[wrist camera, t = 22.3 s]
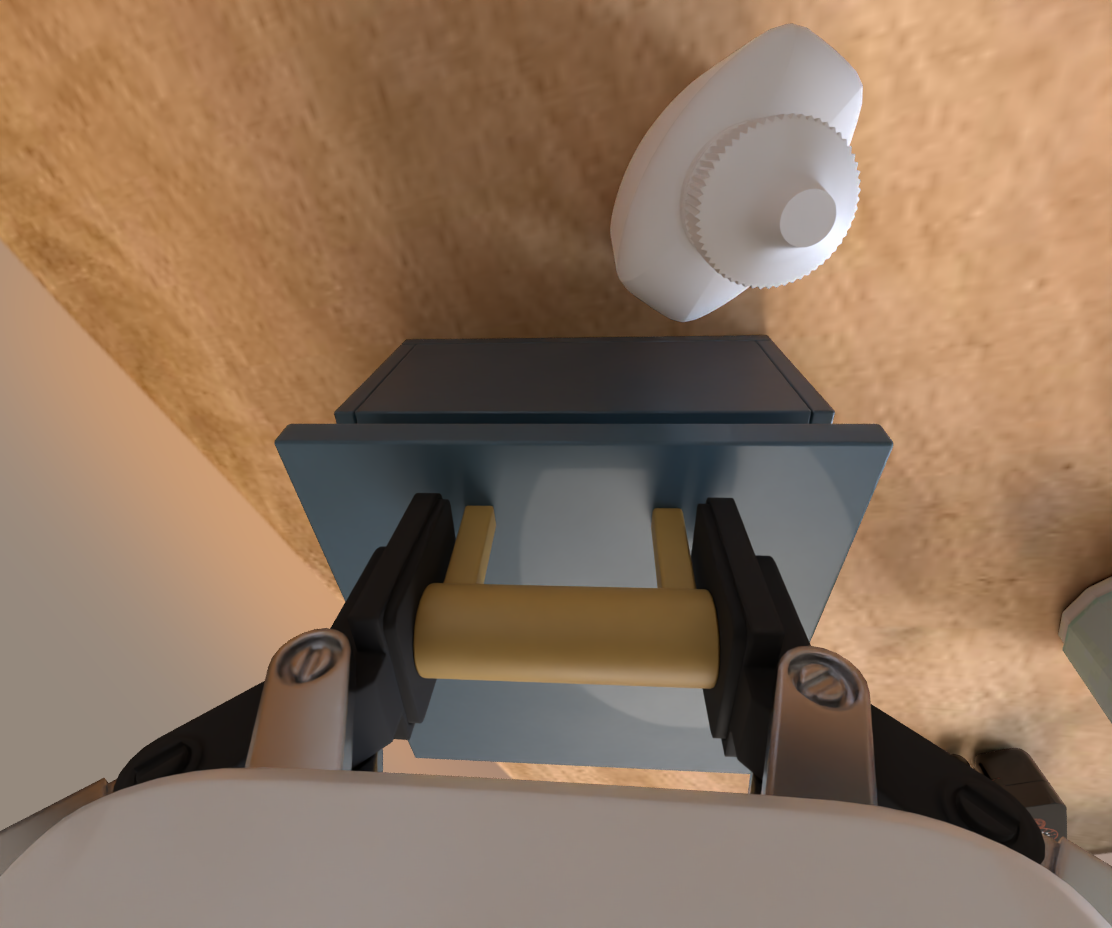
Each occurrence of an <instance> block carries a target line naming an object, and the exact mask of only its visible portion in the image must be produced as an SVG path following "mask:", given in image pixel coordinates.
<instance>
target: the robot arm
mask: <svg viewBox="0 0 1112 928" xmlns="http://www.w3.org/2000/svg"><path fill="white" fill-rule="evenodd" d="M455 542H456V536H455V530H454V523H453V517H452V510H451V504H450V501H449V500H448V499H443V498H442V495H441V494H440V493H416V494H415V495H414V496H413V498H412V500H411V502H410V504H409V506H408V507H407V509H406V511H405V513H404V515H403V517H402V518H401V520H400V522H399V524H398V526H397V528H396V529H395V531H394V533H393V535H392V537H391V539H390V540H389V542H388V544H387V546H380V547H378V548H377V549H376V550H375V551H374V553H373V555H372V556H371V558H370V560H369V562H368V563H367V565H366V567H365V569H364V570H363V572H362V574H361V576H360V577H359V579H358V581H357V583H356V584H355V586H354V588H353V590H352V591H351V593H350V595H349V597H348V598H347V600H346V602H345V604H344V605H343V607H342V609H341V611H340V613H339V614H338V616H337V618H336V620H335V621H334V623H333V625H332V627H331V628H330V629H328V628H323V629H314V630H311V631H308V632H304V633H302V634H300V635H298V636H296V637H294V638H292V639H290V640H289V641H288V642H287V643H285V644H284V645H283V646H282V647H281V648H279V650H278V651H277V652H276V653H275V655H274V656H273V657H272V659H271V662H270V664H269V666H268V670H267V675H266V679H265V681H264V682H262V683H260V684H258V685H256V686H254V687H252V688H251V689H249V690H247V691H245V692H243V693H241V694H240V695H238V696H236V697H234V698H232V699H230V700H228V701H226V702H225V703H223V704H221V705H219V706H217V707H216V708H213V709H212V710H210V711H208V712H206V713H204V714H202V715H201V716H199V717H197V718H195V719H193V720H191V721H189V722H187V723H186V724H184V725H182V726H180V727H178V728H176V729H174V730H173V731H171V732H169V733H167V734H165V735H163V736H161V737H160V738H158V739H157V740H155V741H153V742H152V743H150V744H149V745H147V746H145V747H144V748H143V749H142V750H140V751H139V752H138V753H137V754H136V755H135V756H134V757H133V758H132V759H131V760H130V761H129V762H128V763H127V765H126V766H125V767H124V768H123V770H122V771H121V772H120V774H119V776H118V778H117V779H116V780H114V781H112V782H110V783H108V782H107V781H106V779H105V778H102V779H101V780H99V781H97V782H95V783H93V784H91V785H89V786H87V787H85V788H83V789H81V790H79V791H77V792H75V793H73V794H71V795H70V796H67V797H66V798H64V799H62V800H60V801H58V802H56V803H54V804H52V805H50V806H48V807H46V808H44V809H42V810H41V811H38V812H36V813H34V814H33V815H31V816H29V817H27V818H25V819H23V820H21V821H19V822H17V823H15V824H13V825H11V826H9V827H7V828H5V829H3V830H1V831H0V928H1112V866H1110V865H1109V864H1107V863H1105V862H1104V861H1102V860H1101V859H1099V858H1097V857H1096V856H1094V855H1092V854H1091V853H1089V852H1087V851H1086V850H1084V849H1083V848H1081V847H1079V846H1078V845H1076V844H1074V843H1073V842H1071V841H1069V840H1068V839H1066V838H1064V837H1063V836H1062V838H1061V839H1060V840H1059V841H1058V842H1056V841H1055V840H1053V839H1052V838H1050V837H1048V836H1047V835H1045V834H1043V833H1042V832H1041V830H1040V828H1039V826H1038V825H1037V823H1036V822H1035V820H1034V819H1033V817H1032V816H1031V814H1030V812H1029V811H1028V810H1027V809H1026V808H1025V807H1024V806H1023V805H1022V804H1021V803H1020V802H1019V801H1018V800H1017V799H1016V798H1015V797H1014V796H1013V795H1012V794H1010V793H1009V792H1008V791H1006V790H1005V789H1004V788H1002V787H1001V786H1000V785H998V784H997V783H995V782H994V781H992V780H990V779H989V778H987V777H986V776H984V775H983V774H981V773H979V772H978V771H976V770H975V769H973V768H971V767H970V766H968V765H967V764H965V763H964V762H962V761H960V760H959V759H957V758H956V757H954V756H952V755H951V754H949V753H948V752H946V751H945V750H943V749H941V748H940V747H938V746H937V745H935V744H933V743H932V742H930V741H929V740H927V739H926V738H924V737H922V736H921V735H919V734H918V733H916V732H914V731H913V730H911V729H910V728H908V727H907V726H905V725H903V724H902V723H900V722H899V721H897V720H895V719H894V718H892V717H891V716H889V715H888V714H886V713H884V712H883V711H881V710H880V709H878V708H877V707H875V706H873V705H872V704H870V692H869V688H868V685H867V681H866V680H865V678H864V677H863V675H862V674H861V672H860V671H859V670H858V669H857V668H856V667H855V666H854V665H853V664H852V663H851V662H850V661H848V660H847V659H845V658H843V657H842V656H840V655H839V654H837V653H835V652H832V651H829V650H827V649H824V648H819V647H814V646H811V645H810V642H809V640H808V638H807V635H806V633H805V631H804V628H803V626H802V624H801V621H800V619H799V617H798V614H797V612H796V609H795V607H794V605H793V602H792V600H791V598H790V595H789V593H788V591H787V588H786V586H785V584H784V581H783V579H782V577H781V574H780V572H779V569H778V567H777V565H776V562H775V561H774V559H773V558H772V557H771V556H761V555H755V553H754V550H753V548H752V545H751V542H750V540H749V537H748V534H747V532H746V529H745V527H744V524H743V521H742V519H741V516H740V514H739V511H738V508H737V506H736V503H735V501H734V499H733V498H717V497H708V498H707V500H706V504H700V503H699V504H698V506H697V511H696V519H695V527H694V535H693V543H692V551H691V561H692V567H693V573H694V578H695V584H696V589H706V590H708V591H709V592H710V593H711V596H712V598H713V601H714V604H715V608H716V613H717V619H718V627H719V639H720V664H719V673H718V678H717V682H716V685H715V686H714V687H713V688H711V689H704V688H702V689H703V694H704V699H705V705H706V710H707V715H708V721H709V726H710V731H711V735H712V737H713V738H718V739H721V741H722V745H723V750H724V755H725V757H737V760H738V761H739V762H740V763H742V764H743V765H744V766H745V767H746V768H748V769H749V770H750V771H751V773H750V781H749V789H748V794H744V793H728V792H713V791H697V790H681V789H665V788H649V787H634V786H618V785H601V784H584V783H567V782H550V781H532V780H515V779H497V778H480V777H462V776H441V775H423V774H405V773H386V772H383V749H382V748H384V747H385V746H387V745H388V744H390V743H391V742H392V741H393V739H403V740H410V738H411V735H412V731H413V728H414V725H415V723H420V724H421V723H422V722H423V721H424V718H425V715H426V712H427V709H428V706H429V703H430V699H431V696H432V693H433V690H434V687H435V683H436V680H437V679H434V678H423V677H421V676H420V675H419V674H418V672H417V669H416V666H415V661H414V651H413V638H414V626H415V619H416V614H417V609H418V606H419V602H420V599H421V597H422V594H423V592H424V590H425V589H426V587H427V586H428V585H430V584H432V583H444V580H445V576H446V573H447V569H448V566H449V562H450V559H451V555H452V552H453V548H454V545H455Z"/></svg>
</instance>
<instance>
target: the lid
mask: <svg viewBox="0 0 1112 928" xmlns="http://www.w3.org/2000/svg"><path fill="white" fill-rule="evenodd" d="M275 446H276V448H277V450H278V453H279V455H280V457H281V459H282V462H283V464H284V466H285V468H286V470H287V473H288V475H289V477H290V479H291V482H292V484H293V486H294V488H295V490H296V493H297V495H298V497H299V499H300V502H301V504H302V506H303V508H304V511H305V513H306V515H307V517H308V519H309V522H310V524H311V526H312V528H313V531H314V533H315V535H316V537H317V539H318V542H319V544H320V546H321V548H322V551H323V553H324V555H325V557H326V559H327V562H328V564H329V566H330V568H331V571H332V573H333V575H334V577H335V580H336V582H337V584H338V586H339V588H340V591H341V593H342V595H343V597H344V600H345V602H346V600H347V598H348V597H349V595H350V593H351V591H352V590H353V588H354V586H355V584H356V583H357V581H358V579H359V577H360V576H361V574H362V572H363V570H364V569H365V567H366V565H367V563H368V562H369V560H370V558H371V556H372V555H373V553H374V551H375V550H376V549H377V548H378V547H380V546H387V544H388V542H389V540H390V539H391V537H392V535H393V533H394V531H395V529H396V528H397V526H398V524H399V522H400V520H401V518H402V517H403V515H404V513H405V511H406V509H407V507H408V506H409V504H410V502H411V500H412V498H413V496H414V495H415V494H416V493H440V494H441V495H442V498H443V499H448V500H449V501H450V504H451V510H452V517H453V523H454V530H455V536H456V542H455V545H454V548H453V552H452V555H451V559H450V562H449V566H448V569H447V573H446V576H445V580H444V583H432V584H430V585H428V586H427V587H426V589H425V590H424V592H423V594H422V597H421V599H420V602H419V606H418V609H417V614H416V619H415V626H414V638H413V651H414V661H415V666H416V669H417V672H418V674H419V675H420V676H421V677H423V678H434V679H437V680H436V683H435V687H434V690H433V693H432V696H431V699H430V703H429V706H428V709H427V712H426V715H425V718H424V721H423V722H422V723H421V724H420V723H415V725H414V728H413V731H412V735H411V738H410V740H408V742H409V744H410V746H411V749H412V751H413V753H414V755H415V757H416V758H432V759H452V760H473V761H493V762H513V763H534V764H554V765H575V766H595V767H616V768H637V769H657V770H678V771H698V772H719V773H739V774H750V773H751V771H750V770H749V769H748V768H746V767H745V766H744V765H743V764H742V763H740V762H739V761H738V760H737V757H725V755H724V750H723V745H722V741H721V739H718V738H713V737H712V735H711V731H710V726H709V721H708V715H707V710H706V705H705V699H704V694H703V689H702V688H704V689H711V688H713V687H714V686H715V685H716V682H717V678H718V673H719V664H720V639H719V627H718V619H717V613H716V608H715V604H714V601H713V598H712V596H711V593H710V592H709V591H708V590H706V589H696V584H695V578H694V573H693V567H692V561H691V551H692V543H693V535H694V527H695V519H696V511H697V506H698V504H699V503H700V504H706V500H707V498H708V497H717V498H733V499H734V501H735V503H736V506H737V508H738V511H739V514H740V516H741V519H742V521H743V524H744V527H745V529H746V532H747V534H748V537H749V540H750V542H751V545H752V548H753V550H754V553H755V555H761V556H771V557H772V558H773V559H774V561H775V562H776V565H777V567H778V569H779V572H780V574H781V577H782V579H783V581H784V584H785V586H786V588H787V591H788V593H789V595H790V598H791V600H792V602H793V605H794V607H795V609H796V612H797V614H798V617H799V619H800V621H801V624H802V626H803V628H804V631H805V633H806V635H807V638H808V640H809V642H810V641H811V638H812V636H813V634H814V631H815V629H816V627H817V624H818V622H819V619H820V617H821V615H822V612H823V610H824V608H825V605H826V603H827V601H828V598H829V596H830V594H831V591H832V589H833V587H834V584H835V582H836V580H837V577H838V575H839V572H840V570H841V568H842V565H843V563H844V561H845V558H846V556H847V554H848V551H849V549H850V547H851V544H852V542H853V540H854V537H855V535H856V533H857V530H858V528H859V525H860V523H861V521H862V518H863V516H864V514H865V511H866V509H867V507H868V504H869V502H870V500H871V497H872V495H873V493H874V490H875V488H876V486H877V483H878V481H879V478H880V476H881V474H882V471H883V469H884V467H885V464H886V462H887V460H888V457H889V455H890V453H891V450H892V448H893V441H892V440H891V439H890V437H889V436H888V435H887V433H886V432H885V431H884V429H883V428H882V427H881V425H879V424H289V425H287V426H286V428H285V429H284V430H283V431H282V433H281V434H280V435H279V436H278V437H277V439H276V440H275Z"/></svg>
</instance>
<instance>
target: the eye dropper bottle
mask: <svg viewBox="0 0 1112 928" xmlns="http://www.w3.org/2000/svg"><path fill="white" fill-rule="evenodd" d="M862 91H863V85H862V83H861V81H860V78H859V76H858V74H857V72H856V71H855V69H854V68H853V67H852V66H851V65H850V64H849V63H848V62H847V61H846V60H845V59H844V58H843V57H842V56H841V55H840V54H839V53H838V52H837V51H835V50H834V49H833V48H832V47H831V46H830V45H828V44H827V43H826V42H825V41H824V40H823V39H821V38H820V37H819V36H817V35H816V34H815V33H813V32H812V31H811V30H809V29H808V28H806V27H803V26H799V25H796V24H793V23H791V24H785V25H782V26H779V27H775V28H772V29H770V30H768V31H766V32H765V33H763V34H761V35H759V36H758V37H756V38H754V39H753V40H751V41H750V42H748V43H747V44H745V45H744V46H742V47H741V48H739V49H738V50H736V51H735V52H733V53H732V54H731V55H729V56H728V57H726V58H725V59H723V60H722V61H720V62H719V63H717V64H716V65H715V66H713V67H712V68H710V69H709V70H707V71H706V72H705V73H703V74H702V75H700V76H699V77H698V78H697V79H695V80H694V81H693V82H692V83H691V84H689V85H688V86H687V87H686V88H685V89H684V90H683V91H682V92H680V93H679V94H678V95H677V96H676V97H675V98H674V99H673V101H672V102H671V103H670V104H669V105H668V106H667V107H666V108H665V109H664V110H663V112H662V113H661V114H660V115H659V117H658V118H657V119H656V120H655V122H654V123H653V124H652V126H651V127H650V128H649V130H648V131H647V133H646V134H645V136H644V137H643V139H642V140H641V142H640V144H639V145H638V147H637V149H636V151H635V153H634V154H633V156H632V158H631V160H630V162H629V165H628V167H627V169H626V171H625V174H624V176H623V179H622V182H621V184H620V187H619V190H618V193H617V196H616V200H615V204H614V208H613V213H612V218H611V226H610V233H611V240H612V247H613V253H614V260H615V265H616V271H617V274H618V278H619V279H620V281H621V282H622V283H623V285H624V286H625V287H626V289H627V290H628V291H629V292H631V293H632V294H633V295H634V296H636V297H637V298H638V299H640V300H641V301H643V302H644V303H646V304H647V305H649V306H650V307H652V308H653V309H655V310H656V311H658V312H659V313H661V314H662V315H664V316H666V317H668V318H669V319H671V320H675V321H679V322H686V321H691V320H696V319H698V318H700V317H702V316H704V315H707V314H709V313H710V312H712V311H714V310H716V309H717V308H719V307H721V306H722V305H724V304H726V303H727V302H729V301H730V300H732V299H733V298H735V297H736V296H738V295H739V294H740V293H742V292H743V291H745V290H746V289H747V288H749V287H751V288H752V289H753V288H755V287H758V288H759V289H762V288H764V287H767V288H768V289H769V288H771V287H772V286H775V287H776V288H777V287H778V286H779V285H781V284H783V285H784V286H785V285H786V284H787V283H788V282H791V283H793V282H794V281H795V280H796V279H800V280H801V278H802V277H803V276H804V275H809V274H810V272H811V271H812V270H816V269H817V267H818V265H823V263H824V261H825V259H828V258H830V256H831V253H832V252H835V251H836V249H837V246H838V245H839V244H841V243H842V238H843V237H845V236H846V235H847V230H848V229H849V228H850V227H851V221H852V220H853V219H854V218H855V216H854V213H855V211H856V210H857V209H858V208H857V206H856V204H857V202H858V201H859V197H858V194H859V192H860V188H859V187H858V186H859V184H860V181H861V180H860V179H858V176H859V173H860V171H858V170H856V169H857V165H858V162H854V160H855V154H851V149H852V146H849V145H850V142H851V139H852V136H853V133H854V130H855V127H856V124H857V121H858V117H859V113H860V109H861V105H862Z"/></svg>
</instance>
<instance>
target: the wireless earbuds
mask: <svg viewBox="0 0 1112 928" xmlns="http://www.w3.org/2000/svg"><path fill="white" fill-rule="evenodd" d="M951 755H952V756H954V757H956V758H957V759H959V760H960V761H962V762H964V763H965V764H967V765H968V766H970V764H969V763H968V761H967V760H966V759H965V758H963V757H962V756H960V755H955V754H951ZM975 769H976V771H978V772H979V773H981V774H983V775H984V776H986V777H987V778H989V779H990V780H992V781H994V782H995V783H997V784H998V785H1000V786H1001V787H1002V788H1004V789H1005V790H1006V791H1008V792H1009V793H1010V794H1012V795H1013V796H1014V797H1015V798H1016V799H1017V800H1018V801H1019V802H1020V803H1021V804H1022V805H1023V806H1024V807H1025V808H1026V809H1027V810H1028V811H1029V812H1030V814H1031V816H1032V817H1033V819H1034V820H1035V822H1036V823H1037V825H1038V826H1039V828H1040V830H1041V832H1042V833H1043V834H1045V835H1047V836H1048V837H1050V838H1052V839H1053V840H1055V841H1056V842H1058V841H1059V840H1060V839H1061V838H1062V836H1063V837H1064V838H1066V839H1067V814H1066V806H1065V804H1064V803H1063V802H1062V800H1061V799H1060V797H1059V796H1058V794H1057V793H1056V792H1055V790H1054V789H1053V787H1052V786H1051V785H1050V783H1049V782H1048V780H1047V779H1046V777H1045V776H1044V775H1043V773H1042V772H1041V770H1040V769H1039V768H1038V766H1037V765H1036V763H1035V762H1034V761H1033V759H1032V758H1031V756H1030V755H1029V754H1028V753H1026V752H1025V751H1023V750H1022V749H1018V748H1010V749H1004V750H998V751H992V752H986V753H981V754H978V755H977V756H976V758H975Z"/></svg>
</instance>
